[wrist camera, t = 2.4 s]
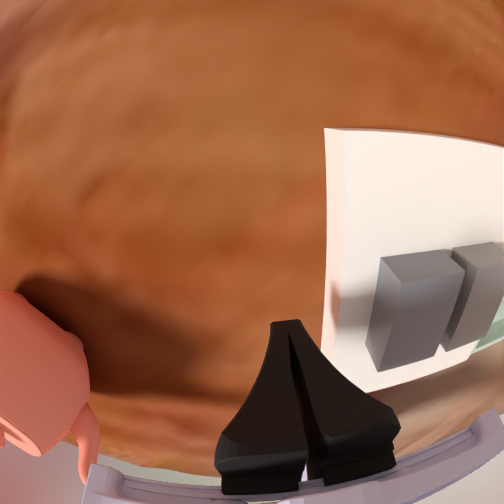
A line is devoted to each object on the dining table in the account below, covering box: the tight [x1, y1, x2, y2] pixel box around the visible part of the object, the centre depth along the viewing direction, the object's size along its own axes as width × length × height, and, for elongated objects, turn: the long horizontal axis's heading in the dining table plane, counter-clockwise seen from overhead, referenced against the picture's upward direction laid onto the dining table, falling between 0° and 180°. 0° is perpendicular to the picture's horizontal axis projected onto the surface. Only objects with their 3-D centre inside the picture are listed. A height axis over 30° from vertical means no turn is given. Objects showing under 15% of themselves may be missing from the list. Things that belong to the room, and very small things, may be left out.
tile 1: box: [440, 242, 504, 352], centre depth 13 cm, size 6×4×2 cm, turn 6°
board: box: [321, 128, 504, 393], centre depth 15 cm, size 18×14×3 cm
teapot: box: [0, 291, 100, 485], centre depth 14 cm, size 13×20×12 cm, turn 52°
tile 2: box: [365, 249, 465, 372], centre depth 13 cm, size 6×4×2 cm, turn 6°
